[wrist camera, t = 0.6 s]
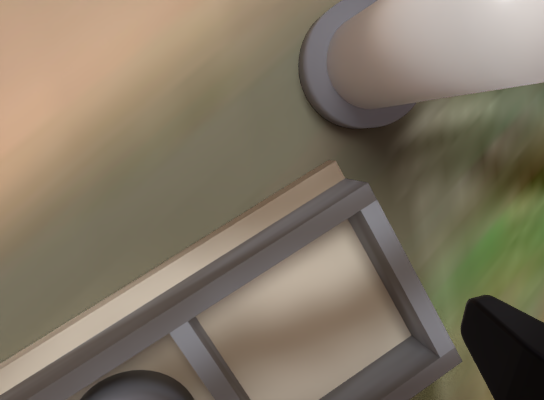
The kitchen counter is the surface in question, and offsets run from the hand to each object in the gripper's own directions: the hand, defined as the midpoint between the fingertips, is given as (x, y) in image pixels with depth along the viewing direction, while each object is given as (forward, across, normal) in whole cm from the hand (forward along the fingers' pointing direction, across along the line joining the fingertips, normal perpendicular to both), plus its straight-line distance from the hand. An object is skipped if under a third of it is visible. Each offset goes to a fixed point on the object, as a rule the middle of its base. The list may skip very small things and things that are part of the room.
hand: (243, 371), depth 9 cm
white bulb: (+15, -9, 0) cm, 17 cm away
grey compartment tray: (+9, 0, +11) cm, 15 cm away
